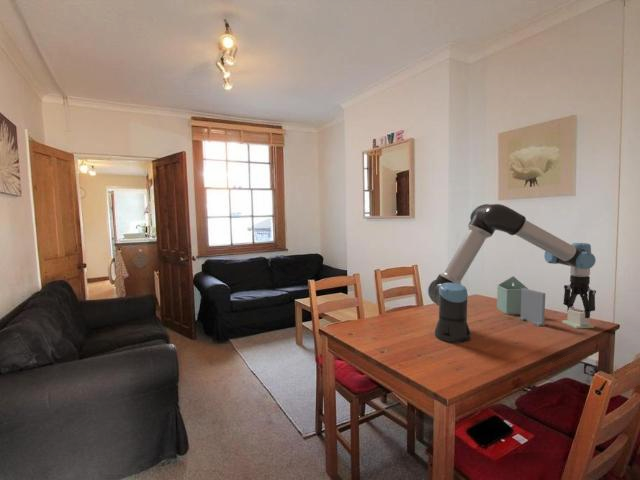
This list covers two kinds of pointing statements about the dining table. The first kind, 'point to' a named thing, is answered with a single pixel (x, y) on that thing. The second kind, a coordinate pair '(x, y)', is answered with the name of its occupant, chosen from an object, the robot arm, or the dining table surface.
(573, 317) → the letter cube
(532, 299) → the board
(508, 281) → the planter
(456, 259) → the robot arm
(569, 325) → the pad
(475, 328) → the dining table surface
